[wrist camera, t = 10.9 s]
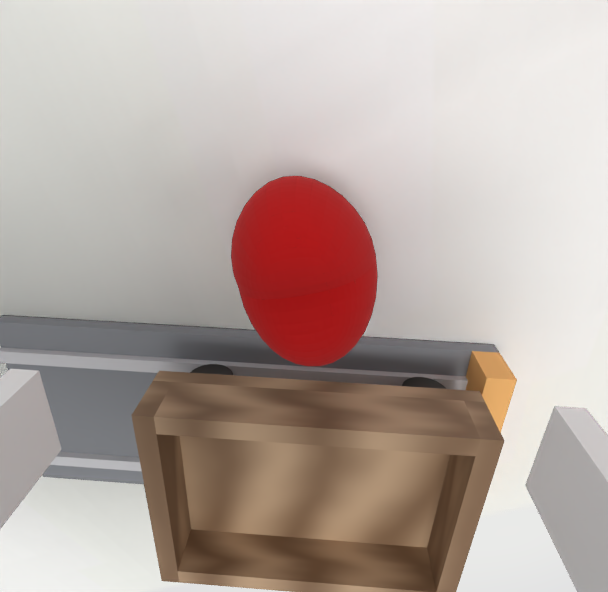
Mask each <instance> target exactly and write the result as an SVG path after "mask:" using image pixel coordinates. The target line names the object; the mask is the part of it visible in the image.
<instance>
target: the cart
mask: <svg viewBox="0 0 608 592" xmlns="http://www.w3.org/2000/svg"><path fill="white" fill-rule="evenodd" d="M131 416H132V422H133V427H134V433H135V438H136V443H137V449H138V454H139V460H140V465H141V471H142V476H143V481H144V487H145V492H146V498H147V503H148V509H149V514H150V519H151V525H152V530H153V536H154V541H155V547H156V552H157V558H158V563H159V568H160V574H161V579H162V581H170V582H182V583H194V584H206V585H218V586H230V587H243V588H254V589H267V590H279V591H291V592H456V590H457V587H458V584H459V581H460V578H461V574H462V571H463V568H464V565H465V562H466V559H467V556H468V553H469V549H470V546H471V543H472V540H473V537H474V534H475V531H476V527H477V525H478V521H479V518H480V515H481V512H482V509H483V506H484V503H485V500H486V496H487V493H488V490H489V487H490V484H491V481H492V478H493V475H494V471H495V468H496V465H497V462H498V459H499V456H500V453H501V450H502V447H503V443H504V439H503V437H502V435H501V433H500V431H499V429H498V427H497V425H496V423H495V421H494V419H493V417H492V415H491V413H490V411H489V409H488V407H487V405H486V403H485V401H484V399H483V397H482V395H481V393H480V391H471V390H455V389H446V388H445V387H444V386H443V385H442V384H441V383H439V382H437V381H435V380H433V379H430V378H425V377H412V378H409V379H407V380H405V381H404V382H403V384H402V386H392V385H377V384H361V383H345V382H330V381H314V380H298V379H283V378H267V377H251V376H236V375H233V372H232V371H231V369H229V368H228V367H226V366H224V365H220V364H207V365H203V366H200V367H197V368H195V369H194V370H192V371H191V372H190V373H189V372H173V371H159V372H158V373H157V375H156V376H155V378H154V380H153V381H152V383H151V384H150V386H149V388H148V389H147V391H146V393H145V394H144V396H143V397H142V399H141V401H140V402H139V404H138V405H137V407H136V409H135V410H134V412H133V414H132V415H131Z"/></svg>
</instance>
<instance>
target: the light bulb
mask: <svg viewBox="0 0 608 592" xmlns="http://www.w3.org/2000/svg"><path fill="white" fill-rule="evenodd" d="M231 259H232V267H233V273H234V277H235V280H236V282H237V285H238V288H239V291H240V295H241V298H242V302H243V306H244V308H245V310H246V313H247V315H248V317H249V319H250V321H251V323H252V325H253V327H254V328H255V330H256V331H257V333H258V334H259V336H260V337H261V339H262V340H263V341H264V342H265V343H266V344H267V345H268V346H269V347H270V348H271V349H272V350H273V351H274V352H275V353H277V354H278V355H280V356H281V357H282V358H284V359H286V360H288V361H290V362H293V363H295V364H299V365H304V366H323V365H326V364H330V363H333V362H335V361H337V360H338V359H340V358H342V357H344V356H345V355H346V354H347V353H348V352H349V351H350V350H351V349H352V348H353V347H355V345H356V344H357V342H358V341H359V340H360V338H361V337H362V335H363V334H364V332H365V330H366V327H367V325H368V323H369V320H370V318H371V315H372V311H373V307H374V303H375V299H376V289H377V264H376V254H375V250H374V246H373V242H372V238H371V236H370V234H369V232H368V229H367V227H366V225H365V223H364V221H363V220H362V218H361V217H360V215H359V214H358V212H357V211H356V210H355V208H354V207H353V206H352V205H351V204H350V203H349V202H348V201H347V200H346V199H345V198H344V197H343V196H342V195H341V194H339V193H338V192H336V191H335V190H334V189H332V188H331V187H329V186H328V185H326V184H323V183H321V182H319V181H317V180H315V179H311V178H306V177H302V176H287V177H281V178H278V179H276V180H273V181H270V182H268V183H267V184H266V185H264V186H263V187H262V188H260V189H259V190H258V191H256V192H255V193H254V195H253V196H252V197H251V198H250V199H249V201H248V202H247V203H246V204H245V206H244V208H243V210H242V212H241V214H240V216H239V218H238V220H237V223H236V226H235V230H234V234H233V238H232V251H231Z"/></svg>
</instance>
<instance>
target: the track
mask: <svg viewBox="0 0 608 592" xmlns="http://www.w3.org/2000/svg"><path fill="white" fill-rule="evenodd" d="M0 346H1V348H0V363H6V364H7V368H8V370H10V369H24V370H38V371H39V372H40V376H41V379H42V383H43V386H44V390H45V393H46V397H47V400H48V404H49V407H50V411H51V414H52V417H53V421H54V424H55V428H56V431H57V435H58V438H59V442H60V445H61V451H60V452H59V453H58V455H57V456H56V457H55V459H54V460H53V461H52V462H51V464H50V465H49V466H48V468H47V469H46V470H45V472H44V473H43V474H42V475H43V477H54V478H67V479H81V480H94V481H108V482H121V483H135V484H144V481H143V476H142V471H141V465H140V460H139V454H138V449H137V443H136V438H135V433H134V427H133V422H132V416H131V415H132V414H133V412H134V410H135V409H136V407H137V405H138V404H139V402H140V401H141V399H142V397H143V396H144V394H145V393H146V391H147V389H148V388H149V386H150V384H151V383H152V381H153V380H154V378H155V376H156V375H157V373H158V372H159V371H173V372H189V373H190V372H191V371H192V370H194V369H195V368H197V367H200V366H203V365H207V364H220V365H224V366H226V367H228V368H229V369H231V371H232V372H233V375H236V376H251V377H267V378H283V379H298V380H314V381H330V382H345V383H361V384H377V385H392V386H402V384H403V382H404V381H405V380H407V379H409V378H412V377H425V378H430V379H433V380H435V381H437V382H439V383H441V384H442V385H443V386H444V387H445V388H446V389H455V390H471V391H480V393H481V395H482V397H483V399H484V401H485V403H486V405H487V407H488V409H489V411H490V413H491V415H492V417H493V419H494V421H495V423H496V425H497V427H498V429H499V431H500V433H501V429H502V426H503V423H504V420H505V416H506V413H507V410H508V407H509V404H510V400H511V397H512V394H513V391H514V388H515V384H516V381H517V379H516V378H515V376H514V375H513V373H512V372H511V370H510V369H509V367H508V365H507V364H506V362H505V361H504V359H503V358H502V356H501V355H500V353H499V351H498V350H497V348H496V347H495V345H492V344H476V343H459V342H442V341H425V340H409V339H392V338H375V337H361V338H360V340H359V341H358V342H357V344H356V345H355V347H353V348H352V349H351V350H350V351H349V352H348V353H347V354H346V355H345V356H344V357H342V358H340V359H338V360H337V361H335V362H333V363H330V364H326V365H323V366H304V365H299V364H295V363H293V362H290V361H288V360H286V359H284V358H282V357H281V356H280V355H278V354H277V353H275V352H274V351H273V350H272V349H271V348H270V347H269V346H268V345H267V344H266V343H265V342H264V341H263V340H262V339H261V337H260V336H259V334H258V333H257V331H256V330H241V329H225V328H208V327H191V326H174V325H158V324H141V323H124V322H107V321H91V320H74V319H57V318H40V317H24V316H7V315H2V316H1V317H0Z"/></svg>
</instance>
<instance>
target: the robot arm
mask: <svg viewBox="0 0 608 592" xmlns="http://www.w3.org/2000/svg"><path fill="white" fill-rule="evenodd" d="M60 451H61V445H60V442H59V438H58V435H57V431H56V428H55V424H54V421H53V417H52V414H51V411H50V407H49V404H48V400H47V397H46V393H45V390H44V386H43V383H42V379H41V376H40V372H39V371H38V370H24V369H10V370H8V371H7V372H6V373H5V374H4V375H3V376H1V377H0V529H1V528H2V526H3V525H4V524H5V522H6V521H7V520H8V519H9V517H10V516H11V515H12V513H13V512H14V511H15V509H16V508H17V507H18V506H19V504H20V503H21V502H22V500H23V499H24V498H25V496H26V495H27V494H28V492H29V491H30V490H31V489H32V487H33V486H34V485H35V483H36V482H37V481H38V479H39V478H40V477H41V476H42V474H43V473H44V472H45V470H46V469H47V468H48V466H49V465H50V464H51V462H52V461H53V460H54V459H55V457H56V456H57V455H58V453H59V452H60ZM526 487H527V490H528V492H529V494H530V496H531V498H532V500H533V502H534V504H535V506H536V508H537V510H538V512H539V514H540V516H541V518H542V520H543V522H544V524H545V526H546V529H547V530H548V533H549V535H550V537H551V539H552V540H553V543H554V545H555V547H556V549H557V551H558V553H559V555H560V557H561V559H562V561H563V563H564V565H565V567H566V570H567V571H568V573H569V575H570V578H571V580H572V582H573V584H574V586H575V588H576V590H577V592H608V435H607V434H606V432H605V431H604V430H603V429H602V427H601V426H600V425H599V424H598V422H597V421H596V420H595V419H594V417H593V416H592V415H591V414H590V412H589V411H588V410H587V409H586V408H574V407H559V406H554V409H553V412H552V414H551V417H550V420H549V422H548V425H547V428H546V431H545V433H544V436H543V439H542V441H541V444H540V447H539V449H538V452H537V455H536V458H535V460H534V463H533V466H532V468H531V471H530V474H529V477H528V479H527V482H526Z"/></svg>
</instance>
